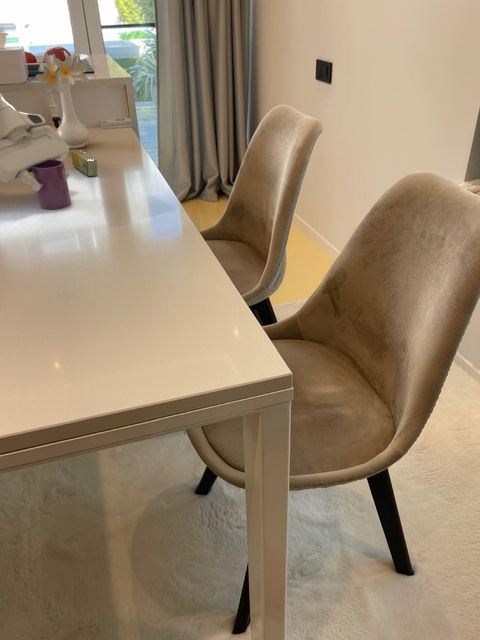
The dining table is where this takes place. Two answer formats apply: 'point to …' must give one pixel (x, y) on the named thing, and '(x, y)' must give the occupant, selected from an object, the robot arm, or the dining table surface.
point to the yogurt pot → (52, 184)
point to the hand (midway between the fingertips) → (53, 183)
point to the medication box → (84, 162)
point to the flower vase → (65, 94)
